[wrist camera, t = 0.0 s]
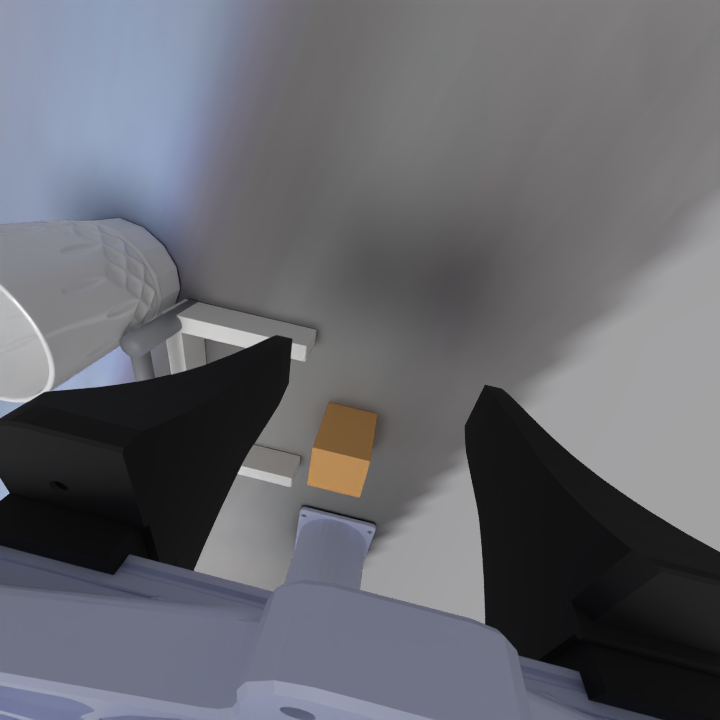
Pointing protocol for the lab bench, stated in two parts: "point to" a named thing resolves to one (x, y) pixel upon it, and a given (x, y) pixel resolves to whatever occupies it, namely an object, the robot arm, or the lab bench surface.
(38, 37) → the lab bench surface
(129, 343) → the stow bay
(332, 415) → the tan wooden cube
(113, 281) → the white cup
